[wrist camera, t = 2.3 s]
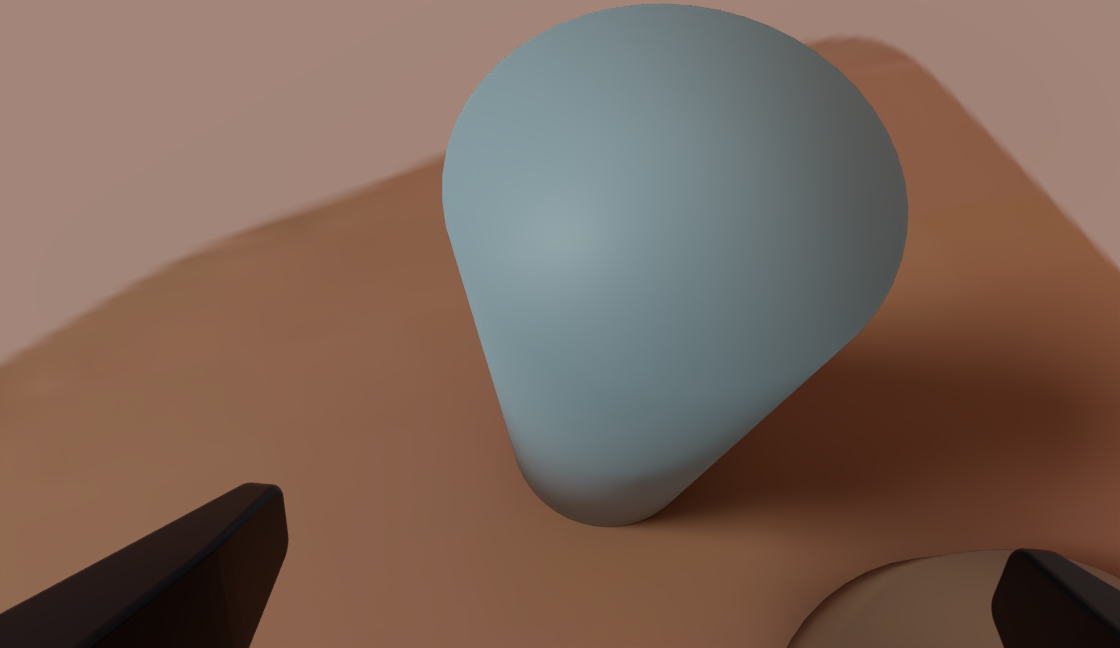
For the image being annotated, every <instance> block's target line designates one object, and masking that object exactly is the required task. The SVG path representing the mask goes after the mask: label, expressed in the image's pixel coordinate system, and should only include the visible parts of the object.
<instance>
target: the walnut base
mask: <svg viewBox="0 0 1120 648" xmlns="http://www.w3.org/2000/svg"><path fill="white" fill-rule="evenodd" d="M1013 551H1015V550H1009V549H1005V550H984V551H972V552H964V553H956V554H948V555H940V556H932V557H924V558H916V559H911V560H905V561H900V562H895V563H890V564H887V565H885V566H882V567H879V568H876V569H873V570H871V571H868V572H866V573H864V574H862V575H860V576H858V577H856V578H855V579H853V580H851V581H849V582H847V583H845V584H844V585H843V586H841V587H840V588H839V589H837V590H836V591H835V592H833V593H832V594H831V595H829V596H828V597H827V598H825V599H824V600H823V601H822V602H821V603H820V604H819V605H818V607H817V608H816V609H815V610H814V611H813V612H812V613H811V614H810V615H809V616H808V617H807V618H806V619H805V621H804V622H803V624H802V625H801V626H800V628H799V629H798V631H797V632H796V633H795V635H794V636H793V638H792V639H791V641H790V643H789V644H788V646H787V648H1004V647H1003V645H1002V642H1001V639H1000V637H999V634H998V632H997V629H996V627H995V624H994V621H993V618H992V612H991V602H992V597H993V594H994V592H995V589H996V587H997V584H998V582H999V580H1000V577H1001V575H1002V572H1003V570H1004V567H1005V565H1006V562H1007V560H1008V557H1009V556H1010V554H1011V553H1012V552H1013ZM1066 559H1068V558H1066ZM1068 560H1069V561H1071V562H1073V563H1074V564H1076V565H1078V566H1080V567H1081V568H1083V569H1085V570H1086V571H1088V572H1090V573H1091V574H1093V575H1095V576H1096V577H1098V578H1100V579H1101V580H1103V581H1105V582H1107V583H1108V584H1110V585H1112V586H1113V587H1115V588H1117V589H1118V590H1120V578H1118V577H1116V576H1114V575H1111V574H1109V573H1107V572H1105V571H1103V570H1100V569H1097V568H1095V567H1092V566H1089V565H1086V564H1083V563H1080V562H1077V561H1074V560H1072V559H1068Z"/></svg>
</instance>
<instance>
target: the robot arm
mask: <svg viewBox="0 0 1120 648" xmlns="http://www.w3.org/2000/svg"><path fill="white" fill-rule="evenodd" d="M287 548H288V530H287V522H286V514H285V506H284V498H283V493H282V491H281V489H280V488H279V487H278V486H277V485H274V484H262V483H245V484H243V485H240V486H238V487H237V488H235V489H233V490H231V491H229V492H227V493H225V494H223V495H222V496H220V497H218V498H216V499H214V500H212V501H210V502H209V503H207V504H205V505H203V506H201V507H199V508H197V509H195V510H194V511H192V512H190V513H188V514H186V515H184V516H182V517H180V518H179V519H177V520H175V521H173V522H171V523H169V524H167V525H165V526H164V527H162V528H160V529H158V530H156V531H154V532H152V533H151V534H149V535H147V536H145V537H143V538H141V539H139V540H137V541H136V542H134V543H132V544H130V545H128V546H126V547H124V548H122V549H121V550H119V551H117V552H115V553H113V554H111V555H109V556H108V557H106V558H104V559H102V560H100V561H98V562H96V563H94V564H93V565H91V566H89V567H87V568H85V569H83V570H81V571H79V572H78V573H76V574H74V575H72V576H70V577H68V578H66V579H64V580H63V581H61V582H59V583H57V584H55V585H53V586H51V587H49V588H48V589H46V590H44V591H42V592H40V593H38V594H36V595H34V596H33V597H31V598H29V599H27V600H25V601H23V602H21V603H19V604H18V605H16V606H14V607H12V608H10V609H8V610H6V611H4V612H3V613H1V614H0V648H249V647H250V644H251V642H252V639H253V637H254V634H255V632H256V629H257V627H258V624H259V622H260V619H261V617H262V614H263V612H264V609H265V607H266V604H267V602H268V599H269V597H270V594H271V592H272V589H273V587H274V584H275V582H276V579H277V576H278V574H279V571H280V569H281V566H282V564H283V561H284V559H285V556H286V553H287ZM991 612H992V618H993V621H994V624H995V627H996V629H997V632H998V634H999V637H1000V639H1001V642H1002V645H1003V647H1004V648H1120V590H1118V589H1117V588H1115V587H1113V586H1112V585H1110V584H1108V583H1107V582H1105V581H1103V580H1101V579H1100V578H1098V577H1096V576H1095V575H1093V574H1091V573H1090V572H1088V571H1086V570H1085V569H1083V568H1081V567H1080V566H1078V565H1076V564H1074V563H1073V562H1071V561H1069V560H1068V559H1066V558H1064V557H1063V556H1061V555H1059V554H1057V553H1055V552H1052V551H1048V550H1037V549H1025V548H1021V549H1017V550H1015V551H1013V552H1012V553H1011V554H1010V556H1009V557H1008V560H1007V562H1006V565H1005V567H1004V570H1003V572H1002V575H1001V577H1000V580H999V582H998V584H997V587H996V589H995V592H994V594H993V597H992V602H991Z"/></svg>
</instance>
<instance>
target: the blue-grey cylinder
mask: <svg viewBox="0 0 1120 648" xmlns="http://www.w3.org/2000/svg"><path fill="white" fill-rule="evenodd" d="M442 201H443V208H444V216H445V223H446V228H447V231H448V234H449V238H450V241H451V245H452V248H453V252H454V255H455V258H456V261H457V265H458V268H459V271H460V275H461V278H462V281H463V284H464V288H465V291H466V294H467V298H468V301H469V304H470V308H471V311H472V314H473V317H474V321H475V324H476V327H477V331H478V334H479V337H480V341H481V344H482V347H483V350H484V354H485V357H486V360H487V364H488V367H489V370H490V373H491V377H492V380H493V383H494V387H495V390H496V393H497V397H498V400H499V403H500V406H501V410H502V413H503V416H504V420H505V423H506V426H507V430H508V433H509V436H510V439H511V443H512V446H513V449H514V453H515V456H516V459H517V462H518V465H519V468H520V470H521V472H522V474H523V476H524V478H525V480H526V481H527V483H528V484H529V486H530V487H531V489H532V490H533V491H534V492H535V494H536V495H537V496H538V497H539V498H540V499H541V500H542V501H543V502H544V503H545V504H546V505H548V506H549V507H551V508H552V509H553V510H555V511H556V512H558V513H559V514H561V515H563V516H565V517H567V518H569V519H572V520H574V521H577V522H580V523H583V524H588V525H592V526H602V527H614V526H623V525H628V524H633V523H636V522H639V521H642V520H644V519H646V518H648V517H650V516H652V515H654V514H656V513H657V512H659V511H660V510H662V509H663V508H665V507H666V506H667V505H668V504H669V503H670V502H671V501H672V500H674V499H675V498H676V497H677V496H678V495H679V494H680V493H681V492H683V491H684V490H685V489H686V488H687V487H688V486H689V485H690V484H691V483H693V482H694V481H695V480H696V479H697V478H698V477H699V476H700V475H701V474H703V473H704V472H705V471H706V470H707V469H708V468H709V467H710V466H712V465H713V464H714V463H715V462H716V461H717V460H718V459H719V458H720V457H722V456H723V455H724V454H725V453H726V452H727V451H728V450H729V449H730V448H732V447H733V446H734V445H735V444H736V443H737V442H738V441H739V440H741V439H742V438H743V437H744V436H745V435H746V434H747V433H748V432H749V431H751V430H752V429H753V428H754V427H755V426H756V425H757V424H758V423H759V422H761V421H762V420H763V419H764V418H765V417H766V416H767V415H768V414H770V413H771V412H772V411H773V410H774V409H775V408H776V407H777V406H778V405H780V404H781V403H782V402H783V401H784V400H785V399H786V398H787V397H788V396H790V395H791V394H792V393H793V392H794V391H795V390H796V389H797V388H798V387H800V386H801V385H802V384H803V383H804V382H805V381H806V380H807V379H809V378H810V377H811V376H812V375H813V374H814V373H815V372H816V371H817V370H819V369H820V368H821V367H822V366H823V365H824V364H825V363H826V362H827V361H829V360H830V359H831V358H832V357H833V356H834V355H835V354H836V353H838V352H839V351H840V350H841V349H842V348H843V347H844V346H845V345H846V344H847V343H849V342H850V341H851V340H852V339H853V338H854V337H855V336H856V335H857V334H858V333H860V332H861V330H862V329H863V328H864V327H865V325H866V324H867V323H868V322H869V320H870V319H871V318H872V317H873V315H874V314H875V313H876V312H877V311H878V309H879V308H880V306H881V304H882V302H883V301H884V299H885V297H886V295H887V294H888V292H889V290H890V288H891V287H892V285H893V282H894V279H895V277H896V274H897V271H898V269H899V266H900V263H901V261H902V257H903V252H904V247H905V241H906V236H907V222H908V202H907V194H906V186H905V179H904V176H903V172H902V169H901V165H900V162H899V158H898V155H897V152H896V150H895V148H894V146H893V143H892V141H891V139H890V136H889V134H888V132H887V130H886V128H885V127H884V125H883V123H882V122H881V120H880V119H879V117H878V115H877V114H876V112H875V110H874V109H873V107H872V106H871V105H870V104H869V102H868V101H867V100H866V99H865V97H864V96H863V95H862V94H861V92H860V91H859V90H858V89H857V87H856V86H855V85H854V84H853V83H852V82H850V81H849V80H848V79H847V78H846V77H845V76H844V75H843V74H842V73H841V72H840V71H839V70H838V69H837V68H836V67H835V66H833V65H832V64H831V63H830V62H828V61H827V60H826V59H825V58H823V57H822V56H821V55H819V54H818V53H817V52H815V51H814V50H812V49H811V48H809V47H807V46H806V45H804V44H803V43H801V42H799V41H798V40H796V39H795V38H793V37H791V36H789V35H787V34H785V33H783V32H781V31H779V30H776V29H774V28H772V27H770V26H768V25H765V24H763V23H760V22H757V21H754V20H752V19H749V18H746V17H744V16H739V15H736V14H732V13H728V12H725V11H721V10H716V9H710V8H704V7H698V6H692V5H677V4H641V5H631V6H624V7H616V8H610V9H606V10H602V11H598V12H594V13H589V14H586V15H583V16H580V17H577V18H574V19H571V20H569V21H566V22H563V23H561V24H558V25H556V26H554V27H552V28H550V29H548V30H546V31H544V32H542V33H540V34H538V35H537V36H535V37H533V38H532V39H530V40H529V41H527V42H526V43H524V44H522V45H521V46H519V47H518V48H517V49H515V50H514V51H513V52H512V53H510V54H509V55H508V56H507V57H505V58H504V59H503V60H502V61H501V62H499V63H498V64H497V65H496V66H495V67H494V68H493V70H492V71H491V72H490V73H489V74H488V75H487V76H486V77H485V78H484V79H483V80H482V81H481V83H480V84H479V85H478V87H477V88H476V90H475V91H474V92H473V94H472V96H471V97H470V98H469V100H468V101H467V103H466V104H465V106H464V108H463V110H462V112H461V114H460V116H459V118H458V120H457V122H456V124H455V126H454V130H453V132H452V135H451V138H450V141H449V144H448V147H447V152H446V157H445V163H444V169H443V185H442Z"/></svg>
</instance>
